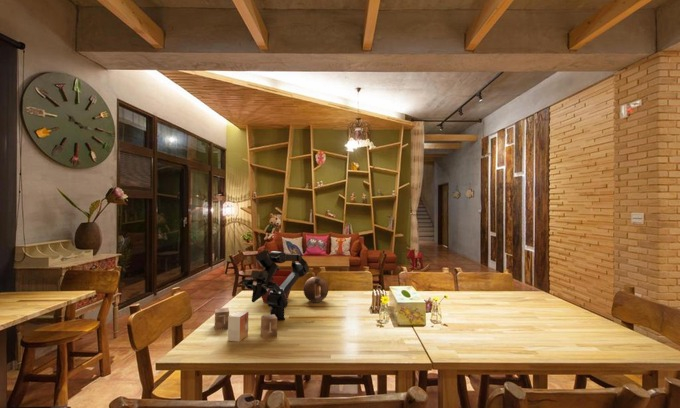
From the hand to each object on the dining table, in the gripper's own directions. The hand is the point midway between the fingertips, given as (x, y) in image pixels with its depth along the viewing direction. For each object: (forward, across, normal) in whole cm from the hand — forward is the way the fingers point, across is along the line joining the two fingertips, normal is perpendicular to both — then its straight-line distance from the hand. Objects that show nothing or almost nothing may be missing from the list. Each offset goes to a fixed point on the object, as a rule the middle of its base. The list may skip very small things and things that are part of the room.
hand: (252, 301), depth 152 cm
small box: (+16, 0, +3) cm, 16 cm away
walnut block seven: (+12, -16, +7) cm, 21 cm away
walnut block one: (+10, +9, +10) cm, 16 cm away
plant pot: (-22, -21, +42) cm, 52 cm away
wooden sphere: (-29, +1, +49) cm, 57 cm away
